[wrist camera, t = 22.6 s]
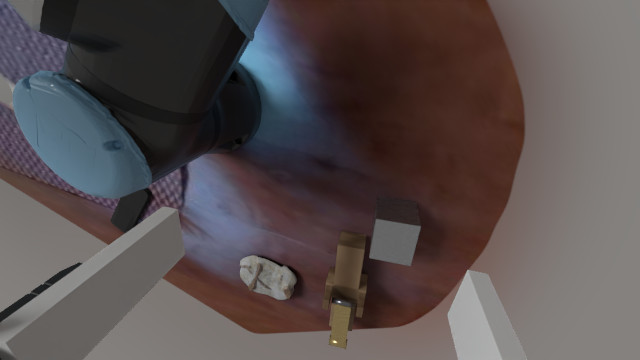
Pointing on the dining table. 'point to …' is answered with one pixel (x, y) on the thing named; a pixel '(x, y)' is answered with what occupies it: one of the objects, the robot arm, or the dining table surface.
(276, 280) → the stone
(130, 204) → the remote control
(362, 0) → the dining table surface
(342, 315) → the lever
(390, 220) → the brushed steel cube
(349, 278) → the tan wooden beam joint
